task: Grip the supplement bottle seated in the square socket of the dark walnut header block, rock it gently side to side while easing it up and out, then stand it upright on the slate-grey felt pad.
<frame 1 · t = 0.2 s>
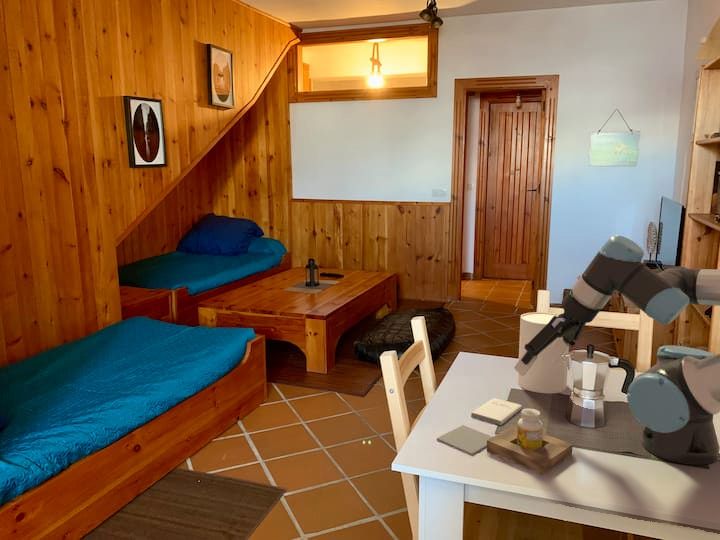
hand: (534, 366, 134), 16 cm above the table, tool tilted 30°, fingers open, 13 cm apart
header block: (528, 452, 125), on the table
canister: (541, 385, 165), on the table
external hard drive: (496, 414, 146), on the table
felt pad: (467, 440, 131), on the table
supplement bottle: (528, 453, 125), resting in header block
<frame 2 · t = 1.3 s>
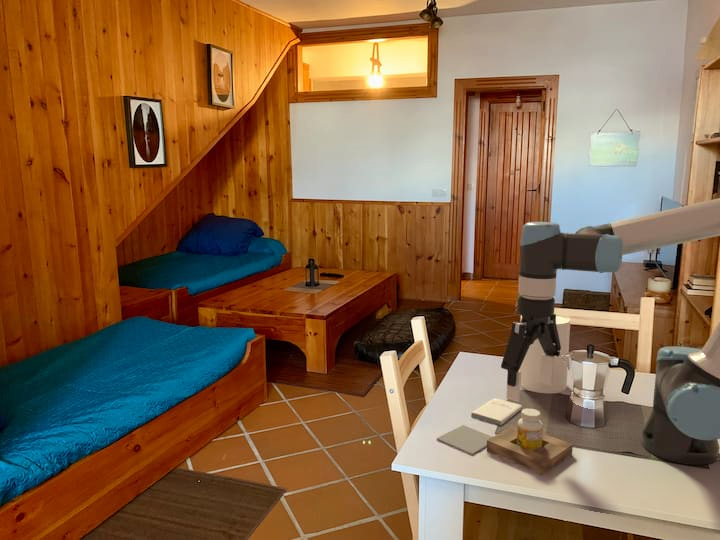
hand: (530, 391, 123), 14 cm above the table, tool pointing down, fingers open, 13 cm apart
nothing on the table moved.
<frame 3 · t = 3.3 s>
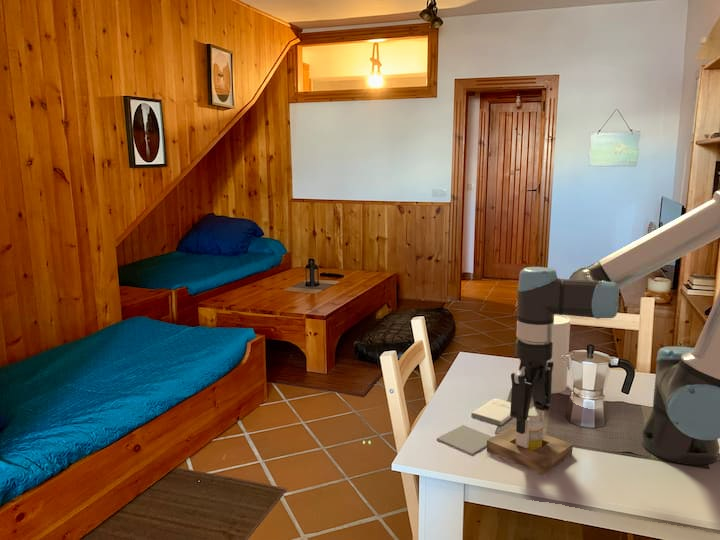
hand: (529, 440, 125), 3 cm above the table, tool pointing down, fingers closed on supplement bottle, 5 cm apart
supplement bottle: (528, 453, 125), resting in header block, touching gripper
everything else where it was.
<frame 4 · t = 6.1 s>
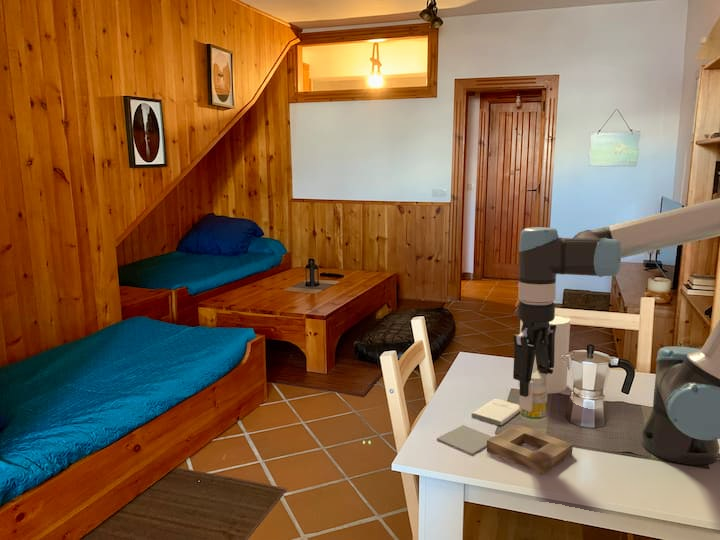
hand: (533, 404, 123), 11 cm above the table, tool pointing down, fingers closed on supplement bottle, 5 cm apart
supplement bottle: (532, 418, 123), point 8 cm above the table, touching gripper
everything else where it was.
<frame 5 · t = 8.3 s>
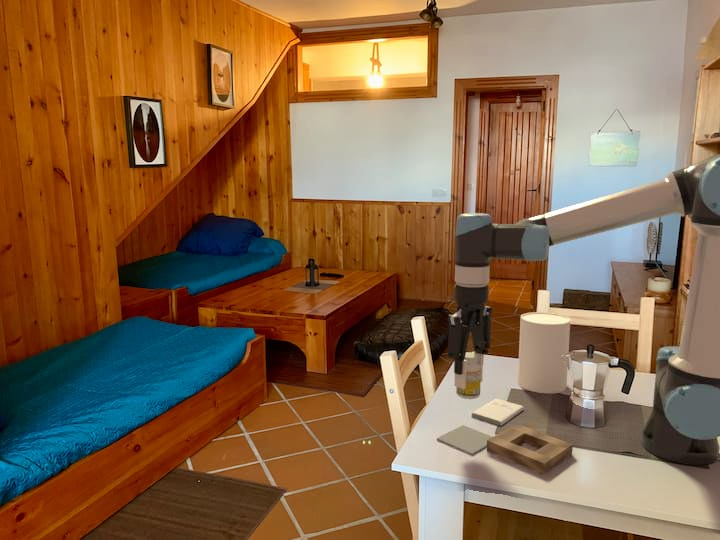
hand: (468, 383, 129), 14 cm above the table, tool pointing down, fingers closed on supplement bottle, 5 cm apart
supplement bottle: (468, 395, 129), point 11 cm above the table, touching gripper
everything else where it was.
when the fingers open (4 cm above the table, at t = 10.6 s): supplement bottle drops 1 cm, resting on felt pad.
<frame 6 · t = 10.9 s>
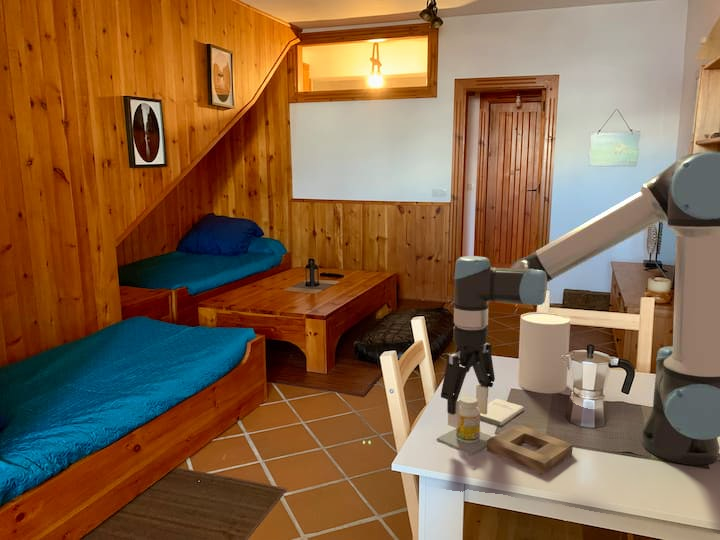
hand: (467, 419, 130), 5 cm above the table, tool pointing down, fingers open, 10 cm apart
supplement bottle: (467, 439, 131), resting on felt pad
everything else where it was.
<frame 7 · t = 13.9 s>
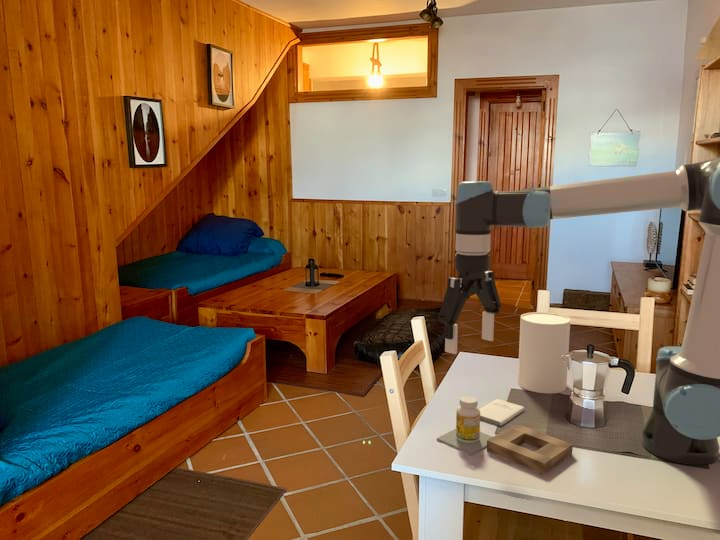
hand: (469, 346, 127), 23 cm above the table, tool pointing down, fingers open, 13 cm apart
nothing on the table moved.
at the end: supplement bottle inside the target area on the felt pad (0.0 cm from its centre), point 0.2 cm above the felt pad's base; supplement bottle tilted 0°; the gripper is holding nothing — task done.
